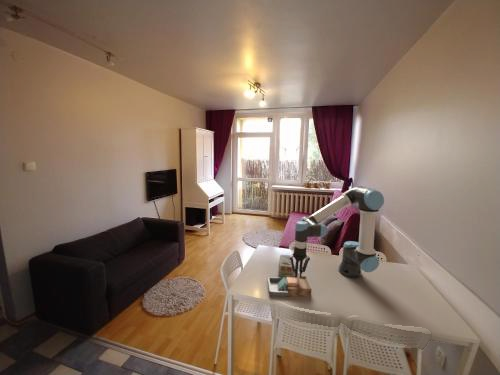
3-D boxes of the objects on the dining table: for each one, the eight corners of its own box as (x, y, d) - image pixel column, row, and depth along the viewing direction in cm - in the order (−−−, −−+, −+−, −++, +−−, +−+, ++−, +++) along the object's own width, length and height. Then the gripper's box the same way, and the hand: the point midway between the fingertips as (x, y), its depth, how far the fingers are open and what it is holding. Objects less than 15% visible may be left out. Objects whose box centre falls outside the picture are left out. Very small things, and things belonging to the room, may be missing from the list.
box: (284, 281, 151) (284, 277, 150) (288, 296, 135) (288, 292, 134) (267, 280, 151) (267, 276, 150) (269, 296, 135) (269, 291, 134)
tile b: (286, 278, 145) (284, 277, 144) (287, 284, 139) (285, 282, 138) (280, 285, 145) (277, 283, 145) (281, 291, 139) (278, 289, 139)
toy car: (293, 263, 176) (293, 251, 174) (293, 281, 152) (294, 267, 150) (279, 261, 177) (280, 249, 176) (277, 279, 153) (278, 265, 152)
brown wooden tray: (305, 282, 150) (305, 276, 149) (310, 296, 136) (311, 288, 135) (284, 282, 150) (284, 275, 149) (287, 295, 136) (288, 288, 135)
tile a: (295, 280, 145) (295, 277, 145) (297, 286, 139) (297, 283, 139) (286, 279, 145) (286, 277, 145) (287, 285, 139) (287, 282, 139)
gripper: (309, 244, 142) (306, 278, 145) (288, 243, 141) (286, 277, 145) (312, 249, 134) (309, 285, 138) (290, 248, 134) (288, 284, 138)
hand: (297, 281), depth 142 cm, fingers closed
